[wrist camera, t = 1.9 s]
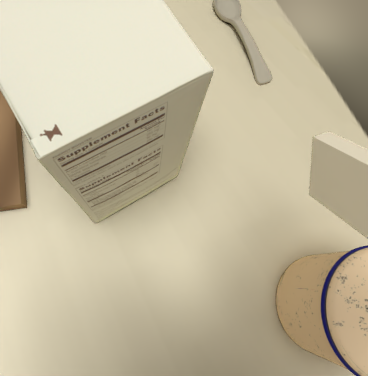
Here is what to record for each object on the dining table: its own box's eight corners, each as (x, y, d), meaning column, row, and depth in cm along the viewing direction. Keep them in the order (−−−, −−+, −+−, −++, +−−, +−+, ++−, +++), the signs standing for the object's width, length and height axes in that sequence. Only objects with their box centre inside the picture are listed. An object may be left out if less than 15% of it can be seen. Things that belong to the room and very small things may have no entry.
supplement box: (180, 176, 32) (223, 74, 15) (94, 227, 29) (40, 169, 13) (129, 98, 33) (120, -72, 17) (43, 140, 31) (-63, -8, 15)
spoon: (228, -5, 38) (233, -19, 36) (272, 84, 37) (280, 75, 35) (206, 1, 38) (210, -13, 36) (250, 92, 36) (257, 83, 34)
